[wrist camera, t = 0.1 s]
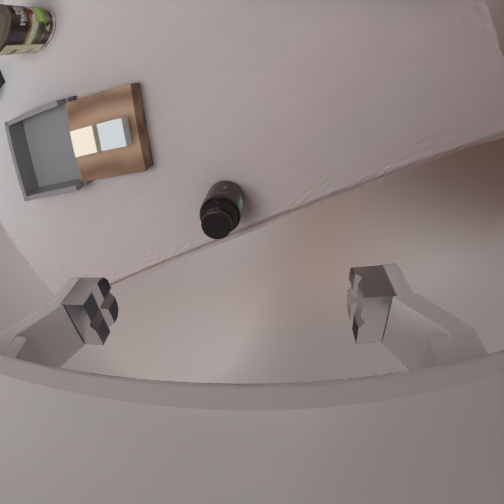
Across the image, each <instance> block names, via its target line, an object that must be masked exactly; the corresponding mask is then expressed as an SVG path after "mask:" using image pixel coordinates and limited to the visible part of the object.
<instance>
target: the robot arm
mask: <svg viewBox="0 0 504 504" xmlns="http://www.w3.org/2000/svg"><path fill="white" fill-rule="evenodd" d="M349 280H350V284H351V287H350V288H349V289H348V295H347V307H348V314H349V318H350V319H351V320H352V321H353V326H352V330H353V334H354V338H355V342H356V344H361V343H376V342H382V344H383V345H384V346H385V347H386V348H387V349H388V350H389V351H391V353H392V354H394V355H395V356H396V357H397V358H398V359H399V360H400V361H401V362H402V363H403V364H404V365H405V366H406V367H407V368H408V369H409V371H404V372H397V373H390V374H382V375H375V376H366V377H359V378H348V379H338V380H328V381H313V382H296V383H269V384H268V383H267V384H266V383H265V384H223V383H222V384H220V383H191V382H172V381H159V380H147V379H136V378H127V377H118V376H110V375H102V374H95V373H88V372H81V371H75V370H69V369H63V368H60V367H61V366H62V365H63V364H64V363H66V362H67V361H68V360H69V359H70V358H71V357H72V356H73V355H74V354H75V353H76V352H77V351H79V349H81V348H82V347H83V346H84V344H94V345H104V343H105V341H106V339H107V337H108V335H109V333H110V330H109V327H110V326H111V325H113V324H114V323H115V321H116V319H117V317H118V304H117V301H116V299H115V297H114V296H113V295H112V294H111V293H109V292H110V289H111V286H110V284H109V282H108V280H107V279H105V278H81V277H80V278H70V279H68V281H67V282H66V283H65V285H64V286H63V287H62V288H61V290H60V291H59V292H58V294H57V295H56V296H55V298H54V299H53V300H52V302H51V303H50V304H46V305H45V306H43V307H41V308H40V309H38V310H36V311H35V312H33V313H32V314H30V315H28V316H27V317H25V318H24V319H22V320H21V321H19V322H18V323H16V324H14V325H13V326H11V327H10V328H8V329H7V330H5V331H3V332H2V333H1V335H0V504H504V350H502V351H499V352H495V353H491V354H487V352H486V350H485V348H484V346H483V344H482V342H481V340H480V338H479V337H478V335H477V333H476V331H475V330H474V328H472V327H471V326H469V325H467V324H466V323H464V322H463V321H461V320H460V319H458V318H456V317H455V316H453V315H452V314H450V313H448V312H447V311H445V310H443V309H442V308H440V307H439V306H437V305H435V304H434V303H432V302H430V301H429V300H427V299H425V298H424V297H422V296H420V295H419V294H413V292H412V290H411V288H410V286H409V285H408V283H407V281H406V279H405V277H404V275H403V274H402V272H401V270H400V268H399V266H398V265H397V264H386V265H378V266H366V267H353V268H351V269H350V274H349Z"/></svg>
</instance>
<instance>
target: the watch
mask: <svg viewBox="0 0 504 504" xmlns="http://www.w3.org/2000/svg"><path fill="white" fill-rule="evenodd" d="M4 83H5V80H4V78H3V76H2V73H1V71H0V87H1V86H2V85H3V84H4Z"/></svg>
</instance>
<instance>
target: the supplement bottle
mask: <svg viewBox="0 0 504 504" xmlns="http://www.w3.org/2000/svg"><path fill="white" fill-rule="evenodd" d="M243 203H244V195H243V192H242V190H241V189H240V187H239V186H238V185H236V184H235V183H233V182H230V181H221V182H218V183H216V184H214V185H213V186H212V187H211V188H210V190H209V192H208V194H207V196H206V198H205V200H204V202H203V204H202V206H201V208H200V220H201V222H202V224H201V225H202V230H203V231H204V233H205V234H206V235H207V236H209V237H210V238H213V239H222V238H225V237H226V236H227V235H228V234H229V233H230V232H231V231H233V230H234V229H235V228H236V227H237V226H238V224H239V221H240V218H241V213H242V208H243Z"/></svg>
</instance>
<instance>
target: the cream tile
mask: <svg viewBox="0 0 504 504" xmlns="http://www.w3.org/2000/svg"><path fill="white" fill-rule="evenodd" d="M96 124H98V123H96ZM96 124H92V125H89V126H85V127H81V128H78V129H75V130H73V131H70V136H71V140H72V145H73V149H74V153H75V157H79V156H84V155H88V154H92V153H97V152H99V151H101V150H102V149H101V145H100V140H99V135H98V130H97V125H96Z"/></svg>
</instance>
